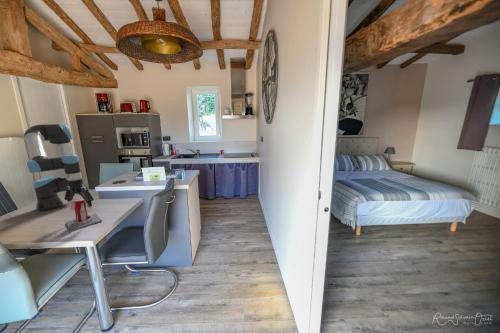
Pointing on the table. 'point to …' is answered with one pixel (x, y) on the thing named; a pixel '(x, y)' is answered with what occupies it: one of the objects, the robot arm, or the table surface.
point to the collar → (84, 220)
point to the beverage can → (80, 210)
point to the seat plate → (75, 227)
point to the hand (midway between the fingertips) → (81, 210)
